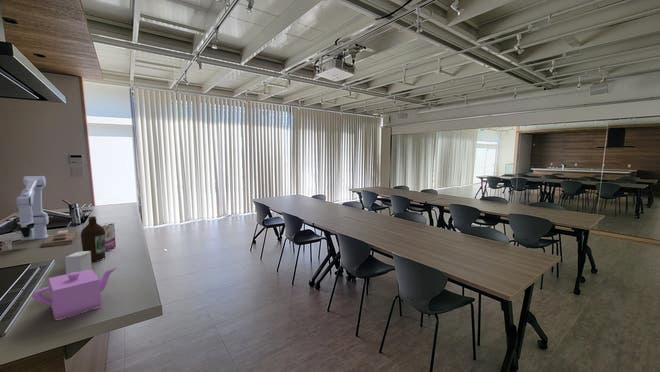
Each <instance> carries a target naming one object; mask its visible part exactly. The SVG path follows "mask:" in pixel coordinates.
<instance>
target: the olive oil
mask: <svg viewBox="0 0 660 372" xmlns="http://www.w3.org/2000/svg"><path fill="white" fill-rule="evenodd" d="M87 220H88V223H87V225H86V226H85V227H84V228H83V229H82V230H81V231H80V241H81V246H82V248H81V250H82V251H91V263H93V262H92V261H95V262H98V261H97V260H100V259H103V258H104V259H105V258H106V252H107V251H106V248H105V230H104V228H103V227H102V226H100V225H101V224H98V222H97V216H93V215H92V216H88V219H87ZM104 259H103V260H104ZM100 261H101V260H100Z"/></svg>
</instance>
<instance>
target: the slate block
mask: <svg viewBox="0 0 660 372" xmlns="http://www.w3.org/2000/svg"><path fill="white" fill-rule="evenodd" d="M19 232H20V240H21V241H25V240H27V241H28V240H30V239H33V238H34V237H35V235H34V228H31V230H30V235H29V237H24V236H23V234H22V232H21V230H20V231H19ZM33 240H34V239H33Z"/></svg>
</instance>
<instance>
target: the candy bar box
mask: <svg viewBox="0 0 660 372" xmlns="http://www.w3.org/2000/svg"><path fill="white" fill-rule="evenodd" d="M99 225H100V226H102V227H103V228H104V230H105V248H106V250H107V251H110V250H112V249H115V248H116V246H117V245H116V244H117V243H116V229H115V223H114V222H106V223H102V224H99ZM114 247H115V248H114ZM109 249H110V250H109Z"/></svg>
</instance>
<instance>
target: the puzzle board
mask: <svg viewBox="0 0 660 372" xmlns="http://www.w3.org/2000/svg"><path fill="white" fill-rule="evenodd" d="M48 235H49V236H48V237H47V238H45V240H44V241H43V242H42V245H41V247H43V248H47V247H56V246H64V245H70V244H71V245H72V244H73V243H74V242H75V240H76V238H77V236H78V232H77V231H73V232H69V230H68V229H65V230H58V231H57V233H51V234H48Z"/></svg>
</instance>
